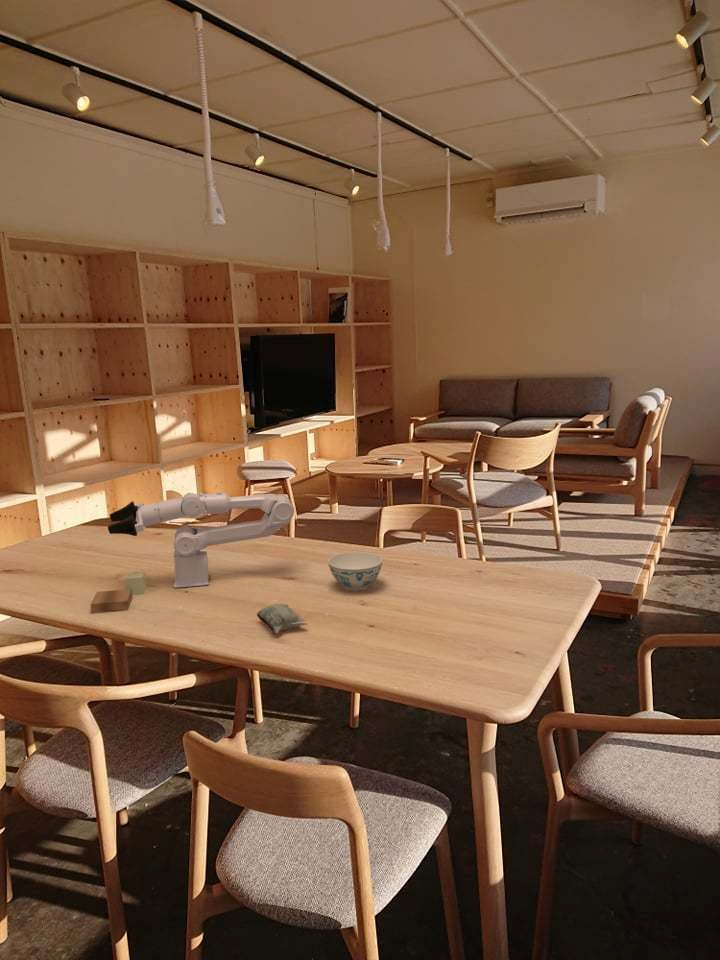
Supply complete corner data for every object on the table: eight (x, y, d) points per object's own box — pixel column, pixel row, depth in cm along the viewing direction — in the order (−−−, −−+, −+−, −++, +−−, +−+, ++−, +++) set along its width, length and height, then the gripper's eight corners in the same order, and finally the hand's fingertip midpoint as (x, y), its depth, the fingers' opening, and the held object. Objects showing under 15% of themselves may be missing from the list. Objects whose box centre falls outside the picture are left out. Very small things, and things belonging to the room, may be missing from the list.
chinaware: (320, 583, 197) (319, 557, 195) (367, 574, 203) (366, 548, 202) (343, 600, 184) (342, 572, 182) (393, 590, 190) (392, 563, 189)
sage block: (145, 588, 196) (144, 571, 195) (144, 594, 192) (142, 577, 191) (129, 590, 196) (127, 573, 195) (127, 595, 191) (125, 578, 190)
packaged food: (288, 614, 176) (287, 596, 175) (308, 631, 165) (307, 612, 164) (256, 622, 172) (254, 603, 171) (274, 640, 161) (272, 620, 160)
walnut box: (132, 599, 189) (131, 588, 189) (128, 611, 181) (127, 601, 180) (98, 602, 188) (96, 591, 187) (91, 615, 179) (90, 604, 179)
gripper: (156, 489, 199) (107, 500, 197) (155, 510, 186) (103, 522, 184) (162, 511, 202) (114, 522, 200) (162, 533, 189) (111, 545, 187)
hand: (109, 523), depth 192 cm, fingers open, 7 cm apart
